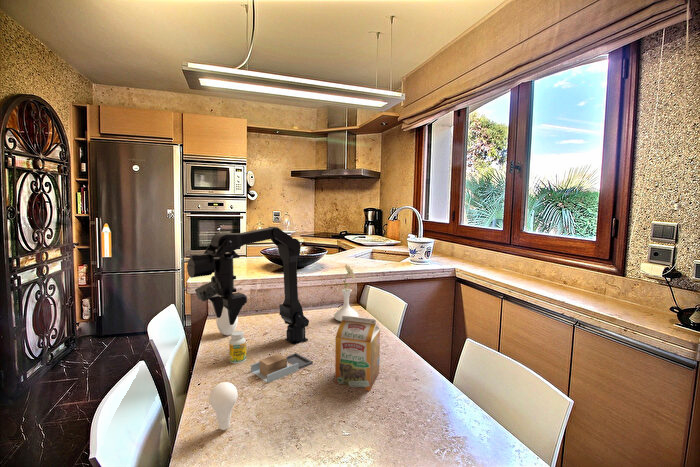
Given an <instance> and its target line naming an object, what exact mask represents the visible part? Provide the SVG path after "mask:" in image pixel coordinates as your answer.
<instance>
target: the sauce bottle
mask: <svg viewBox="0 0 700 467" xmlns="http://www.w3.org/2000/svg"><path fill="white" fill-rule="evenodd" d="M238 320H239V316H237V318H236V320H235V322H234V324H233V325H230V323H229V317H228V310H227V309H226V308H225V307H223V311H222V314H221V317H220V318H217V316H216V326H217V329H218V331H219V332H220V333H221V334H222V335H224V336H231V333H232V332H234V331H236V329H237V326H238V323H239V321H238Z"/></svg>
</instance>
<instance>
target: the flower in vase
mask: <svg viewBox="0 0 700 467" xmlns="http://www.w3.org/2000/svg"><path fill="white" fill-rule="evenodd" d="M344 267H345V270H346V272H347V274H346V276H345V279H344V280H343V283H344V288H342V289H340V291H341V293H342V295H343V306H342V307H341V308H339V309H338V310H336V312H335V313H334V314H333V318H334V319H335V320H336V321H338V322H341V321H342V316H343V315H346V316H354V317H360V316H359V314H358V312H357V311H355V310H354V309H353V308H352V307H351V306H350V295H351V293H352V291H353V289H351V288H347V287H348V286H349V285H351V284H350V283H348V284H346V280H347V278H348V276H350V277H351V279H353V280H356V274H355V273H354V270H353V269H352V268H351V267H350V265H348V264H345V265H344Z"/></svg>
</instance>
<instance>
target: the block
mask: <svg viewBox="0 0 700 467" xmlns="http://www.w3.org/2000/svg"><path fill="white" fill-rule="evenodd" d="M281 354H282V353H278V352H277V353H276V354H273V355H271V356H267V357H265V358H262V359H260V360H259V362H260V373H261V374H262V375H264V376H265V377H267V375H268V374H271V373H273V372H276V371H278V370H281V369H283V368H286V367H287V364H288V362H287V358H286V357H287V356H284V355H283V354H282V355H281Z"/></svg>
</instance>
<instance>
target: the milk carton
mask: <svg viewBox="0 0 700 467" xmlns="http://www.w3.org/2000/svg"><path fill="white" fill-rule="evenodd" d="M380 347H381V328H380V326H379V325H378V324H377V319H375V318H368V317H361V316H359V317H354V316H346V315H343V316H342V321H340V324H339V326H338V328H337V331H336V335H335V351H334V352H335V357H334V358H335V361H334V362H335V366H334V368H335V372H334V376H335V378H334V379H335V380H334V384H338V385H339V386H343V387H349V388H352V389H353V388H354V389H359V390H364V391H369V392H371V389H372V388H373V387H374V385H375V382H376V381H377V379H378V377H379V375H380V357H381V355H380V351H381V348H380Z"/></svg>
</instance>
